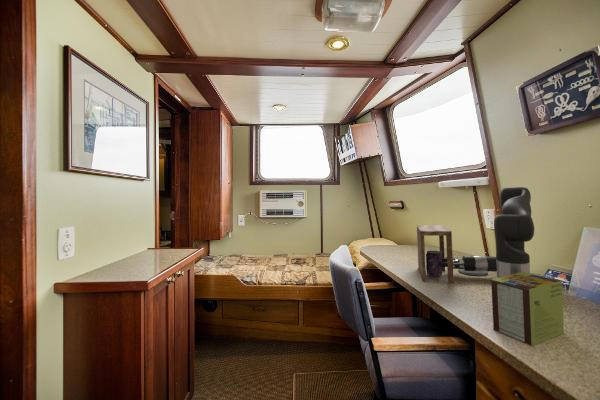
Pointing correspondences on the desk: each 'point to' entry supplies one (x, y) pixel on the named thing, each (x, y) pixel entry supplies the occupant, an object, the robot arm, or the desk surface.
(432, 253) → the beverage can
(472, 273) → the charcoal mat
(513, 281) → the protein box
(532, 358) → the desk surface
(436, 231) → the walnut shelf
